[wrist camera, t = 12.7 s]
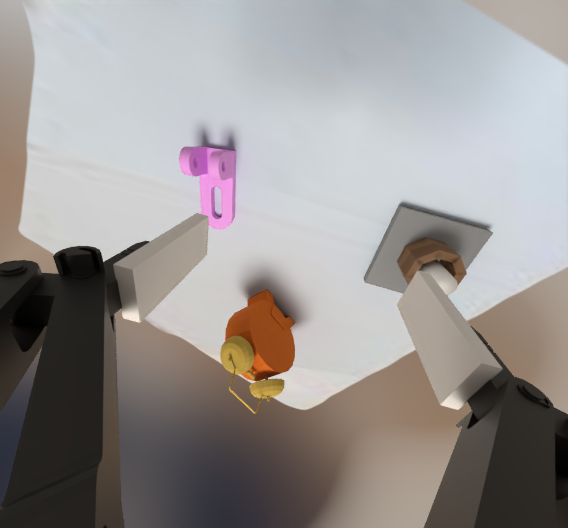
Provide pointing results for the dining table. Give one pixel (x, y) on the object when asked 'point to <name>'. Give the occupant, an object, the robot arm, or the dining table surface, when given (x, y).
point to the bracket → (212, 180)
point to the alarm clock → (259, 346)
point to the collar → (430, 258)
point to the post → (414, 227)
